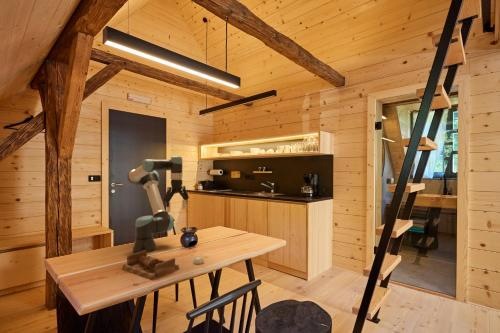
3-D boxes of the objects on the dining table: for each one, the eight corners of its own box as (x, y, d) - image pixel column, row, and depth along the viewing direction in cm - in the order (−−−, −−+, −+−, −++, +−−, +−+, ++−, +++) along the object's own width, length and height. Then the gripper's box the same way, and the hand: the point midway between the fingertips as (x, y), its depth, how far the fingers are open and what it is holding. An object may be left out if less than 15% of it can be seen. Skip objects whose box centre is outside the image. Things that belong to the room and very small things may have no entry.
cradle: (122, 269, 152) (122, 257, 152) (149, 260, 167) (149, 248, 167) (152, 280, 137) (152, 267, 137) (179, 269, 153) (179, 257, 152)
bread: (151, 272, 145) (146, 264, 143) (139, 264, 159) (134, 256, 157) (161, 264, 149) (157, 256, 147) (148, 257, 163) (144, 249, 161)
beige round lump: (190, 263, 163) (190, 258, 162) (198, 260, 168) (198, 255, 168) (198, 265, 159) (198, 260, 159) (205, 262, 164) (205, 257, 164)
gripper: (165, 180, 168) (165, 213, 169) (193, 178, 189) (193, 208, 189) (157, 180, 173) (157, 212, 173) (186, 178, 193) (186, 207, 194)
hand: (176, 210), depth 181 cm, fingers open, 13 cm apart
